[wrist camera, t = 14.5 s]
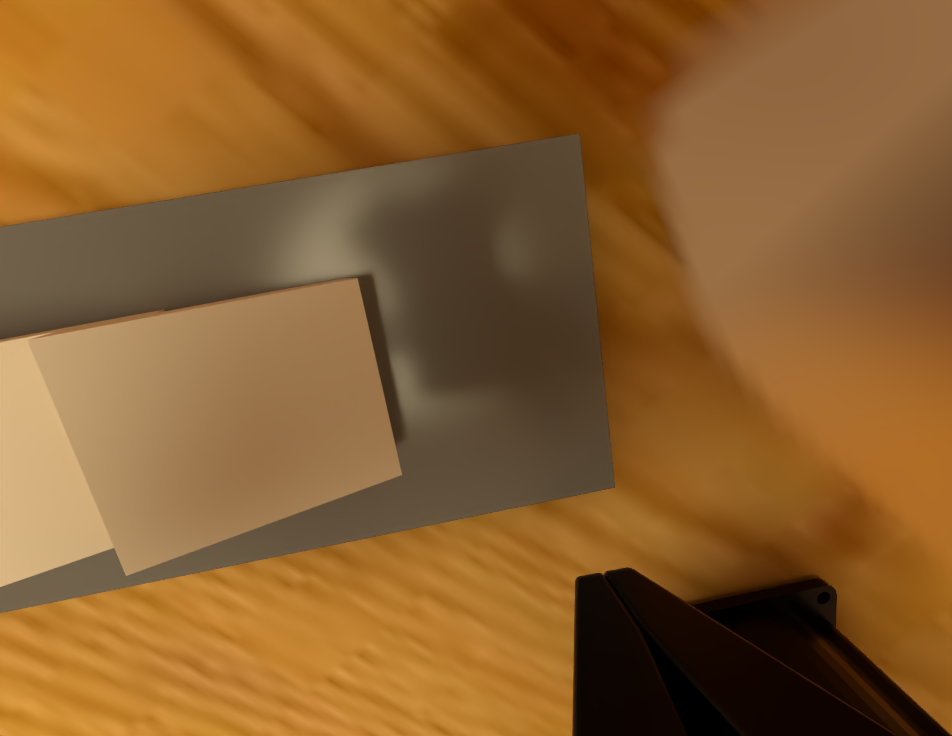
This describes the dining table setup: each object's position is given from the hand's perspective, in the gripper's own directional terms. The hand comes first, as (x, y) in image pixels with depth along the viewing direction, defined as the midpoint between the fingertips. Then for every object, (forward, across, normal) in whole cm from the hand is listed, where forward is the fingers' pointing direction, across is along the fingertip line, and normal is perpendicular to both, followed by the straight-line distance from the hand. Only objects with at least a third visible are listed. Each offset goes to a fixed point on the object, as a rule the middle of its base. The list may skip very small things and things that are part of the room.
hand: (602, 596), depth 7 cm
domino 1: (+6, +4, -2) cm, 8 cm away
